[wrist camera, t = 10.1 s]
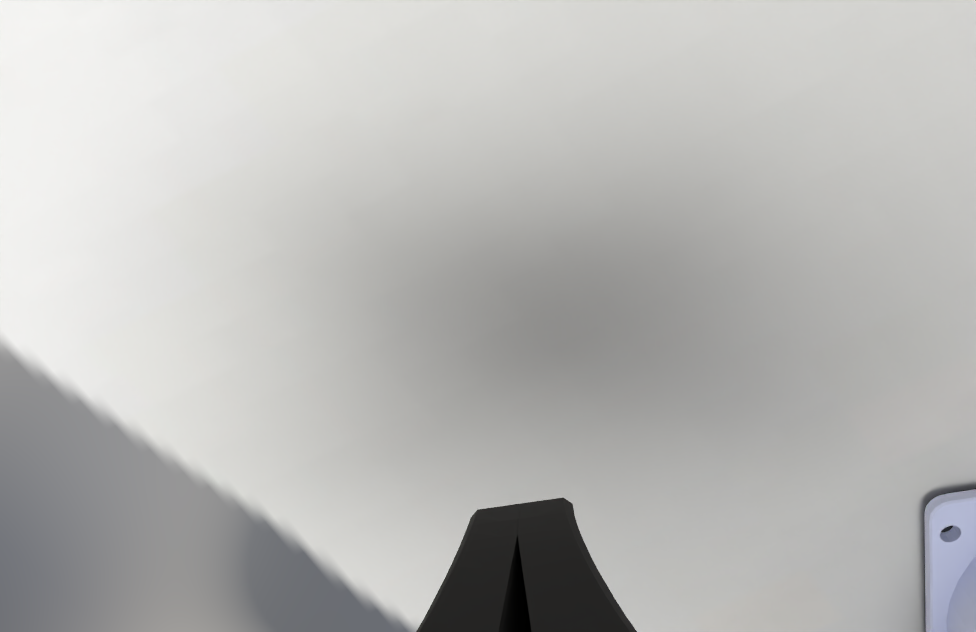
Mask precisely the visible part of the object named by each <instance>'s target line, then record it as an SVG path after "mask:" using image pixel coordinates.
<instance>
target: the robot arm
mask: <svg viewBox="0 0 976 632" xmlns="http://www.w3.org/2000/svg"><path fill="white" fill-rule="evenodd" d="M948 526H953V528H952V529H950V530H949V531H947V532H944V533H943V532H941V531H942V530H943V529H944V528H945V527H948ZM925 598H926V632H976V489H974V490H968V491H961V492H954V493H948V494H943V495H940V496H937V497H935V498H934V499H932V500H931V501H930V502H929V503H928V505H927V506H926V509H925ZM417 632H637V631H636V630H635V629H634V627H633V626H632V624H631V623H630V621H629V620H628V619H627V617H626V616H625V614H624V613H623V611H622V609H621V608H620V606H619V605H618V603H617V602H616V600H615V599H614V597H613V595H612V593H611V592H610V590H609V588H608V587H607V585H606V583H605V581H604V580H603V578H602V576H601V575H600V573H599V571H598V569H597V568H596V566H595V564H594V562H593V560H592V558H591V556H590V554H589V552H588V550H587V547H586V545H585V543H584V541H583V539H582V536H581V534H580V531H579V529H578V526H577V523H576V520H575V516H574V510H573V504H572V503H571V502H569V501H568V500H566V499H565V498H558V499H551V500H544V501H536V502H529V503H522V504H515V505H508V506H501V507H494V508H487V509H480V510H477V511H476V512H475V513H474V515H473V516H472V517H471V519H470V522H469V525H468V527H467V530H466V532H465V535H464V537H463V540H462V542H461V545H460V547H459V549H458V552H457V554H456V556H455V558H454V560H453V563H452V565H451V567H450V569H449V571H448V573H447V575H446V577H445V579H444V581H443V583H442V585H441V587H440V589H439V591H438V593H437V595H436V597H435V599H434V601H433V603H432V605H431V606H430V608H429V610H428V612H427V614H426V616H425V618H424V620H423V621H422V623H421V625H420V627H419V628H418V630H417Z"/></svg>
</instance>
